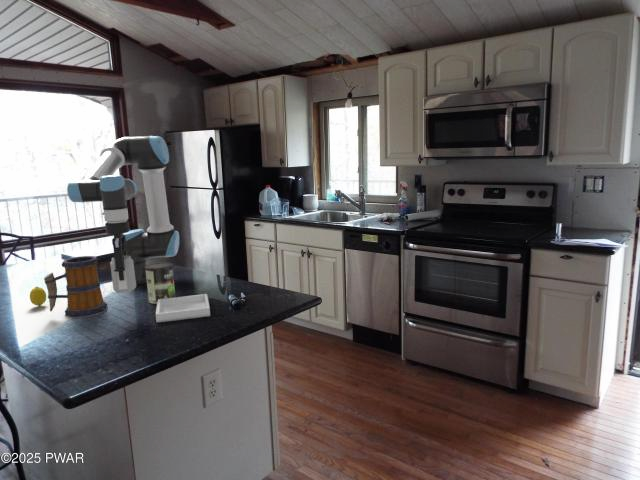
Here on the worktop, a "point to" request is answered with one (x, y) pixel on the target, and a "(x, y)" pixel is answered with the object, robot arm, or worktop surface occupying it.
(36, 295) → the lemon
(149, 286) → the coffee can
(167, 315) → the tray
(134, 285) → the can
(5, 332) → the worktop surface
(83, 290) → the mug
